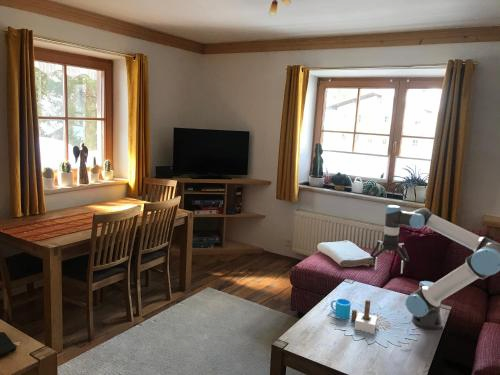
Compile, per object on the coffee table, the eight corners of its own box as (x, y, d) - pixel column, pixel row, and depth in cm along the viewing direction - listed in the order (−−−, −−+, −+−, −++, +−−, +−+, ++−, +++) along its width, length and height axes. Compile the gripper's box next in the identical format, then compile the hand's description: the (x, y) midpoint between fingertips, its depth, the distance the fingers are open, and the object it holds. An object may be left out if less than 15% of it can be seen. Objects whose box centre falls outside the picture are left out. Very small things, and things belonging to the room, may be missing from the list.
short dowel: (356, 320, 222) (357, 310, 221) (355, 322, 220) (356, 312, 218) (351, 318, 223) (352, 309, 222) (350, 321, 221) (351, 311, 220)
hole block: (376, 325, 217) (377, 316, 217) (374, 333, 208) (374, 324, 208) (357, 320, 221) (358, 312, 221) (354, 329, 212) (355, 320, 212)
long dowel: (368, 326, 216) (370, 300, 213) (367, 328, 213) (370, 302, 211) (363, 325, 217) (365, 299, 214) (362, 327, 214) (365, 301, 212)
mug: (352, 315, 227) (353, 302, 226) (344, 320, 221) (346, 306, 220) (334, 308, 235) (335, 295, 234) (326, 312, 229) (327, 299, 228)
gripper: (415, 234, 216) (412, 271, 220) (368, 229, 225) (365, 265, 228) (416, 238, 209) (412, 276, 213) (367, 232, 218) (364, 269, 221)
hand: (388, 271), depth 220 cm, fingers open, 13 cm apart
